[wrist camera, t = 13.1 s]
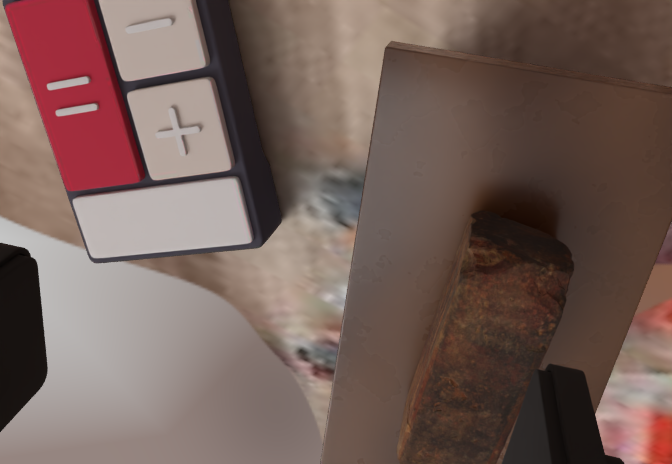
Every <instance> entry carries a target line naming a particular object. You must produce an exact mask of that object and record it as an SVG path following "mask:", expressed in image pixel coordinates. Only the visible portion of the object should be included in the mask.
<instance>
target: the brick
mask: <svg viewBox="0 0 672 464" xmlns="http://www.w3.org/2000/svg"><path fill="white" fill-rule="evenodd" d="M573 272H574V262H573V261H572V253H571V252H570V250H569V248H568V247H567V246H566V245H565V244H564V243H562V242H561V241H559V240H557V239H555V238H553V237H552V236H550V235H549V234H547V233H544V232H542V231H539V230H537V229H534V228H532V227H529V226H526V225H523V224H520V223H518V222H516V221H513V220H509V219H507V218H501V217H500V216H499V215H498V214H496V213H493V212H489V211H484V210H483V211H478V212H475V213H473V214H471V216H470V218H469V220H468V223H467V225H466V228H465V231H464V234H463V236H462V239H461V241H460V244H459V248H458V250H457V253H456V255H455V258H454V261H453V264H452V267H451V270H450V273H449V276H448V279H447V281H446V284H445V287H444V290H443V292H442V295H441V298H440V301H439V304H438V307H437V310H436V313H435V316H434V319H433V322H432V325H431V328H430V331H429V334H428V337H427V340H426V342H425V345H424V348H423V351H422V354H421V357H420V360H419V363H418V366H417V369H416V373H415V375H414V377H413V381H412V384H411V386H410V389H409V392H408V396H407V399H406V402H405V407H404V412H403V418H402V423H401V430H400V436H399V441H398V445H397V451H396V453H397V454H398V456H397V459H398V460H399V463H400V464H496V463H497V461H498V459H499V456H500V454H501V452H502V450H503V448H504V446H505V444H506V441H507V439H508V436H509V434H510V432H511V430H512V428H513V425H514V423H515V421H516V419H517V417H518V414H519V412H520V409H521V406H522V403H523V400H524V398H525V395H526V392H527V389H528V386H529V383H530V380H531V377H532V375H533V372H534V371H535V369H539V368H540V366H541V363H542V361H543V358H544V356H545V354H546V352H547V350H548V348H549V345H550V343H551V341H552V338H553V336H554V334H555V332H556V329H557V327H558V325H559V323H560V321H561V318H562V314H563V310H564V306H565V303H566V293H567V292H568V286H569V282H570V278H571V277H572V275H573Z"/></svg>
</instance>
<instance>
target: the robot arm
mask: <svg viewBox="0 0 672 464" xmlns="http://www.w3.org/2000/svg"><path fill="white" fill-rule="evenodd" d="M46 376H47V357H46V347H45V337H44V327H43V316H42V306H41V296H40V287H39V275H38V266H37V262H36V260H35V259H34V258H32V257H31V256H30V253H29V251H28V250H27V249H25V248H22V247H17V246H13V245H8V244H3V243H0V432H1V431H2V429H4V427H5V426H6V425H7V424H8V423H9V422H10V421H11V420H12V419H13V418H14V416H15V415H16V414H17V413H18V412H19V411H20V410H21V409H22V408H23V407H24V406H25V405H26V403H27V402H28V401H29V400H30V399H31V398H32V397H33V396H34V395H35V394H36V393H37V392H38V390H39V389H40V388H41V387H42V385H43V383H44V382H45V379H46ZM502 464H624V462H623V461H622V460H621V459H620V458H616V457H612V456H608V455H605V453H604V449H603V445H602V441H601V437H600V433H599V429H598V425H597V421H596V417H595V413H594V409H593V405H592V401H591V397H590V393H589V389H588V385H587V381H586V377H585V374H584V372H583V371H582V370H578V369H574V368H569V367H564V366H560V365H555V364H551V363H550V364H548V365H547V367H546V369H545V371H544V370H539V369H535V371H534V372H533V375H532V377H531V380H530V383H529V386H528V389H527V392H526V395H525V398H524V400H523V403H522V406H521V409H520V412H519V415H518V418H517V421H516V424H515V426H514V429H513V432H512V435H511V438H510V441H509V444H508V447H507V450H506V453H505V455H504V458H503V461H502Z"/></svg>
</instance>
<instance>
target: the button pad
mask: <svg viewBox="0 0 672 464" xmlns="http://www.w3.org/2000/svg"><path fill="white" fill-rule="evenodd" d="M3 6H4V9H5V12H6V15H7V18H8V21H9V24H10V27H11V30H12V33H13V36H14V39H15V42H16V45H17V48H18V51H19V54H20V57H21V60H22V62H23V65H24V68H25V71H26V74H27V77H28V80H29V83H30V86H31V89H32V92H33V95H34V98H35V101H36V104H37V107H38V110H39V112H40V115H41V118H42V121H43V124H44V127H45V130H46V133H47V136H48V139H49V142H50V145H51V148H52V151H53V154H54V157H55V160H56V162H57V165H58V168H59V171H60V174H61V177H62V180H63V183H64V186H65V189H66V192H67V195H68V198H69V201H70V204H71V207H72V210H73V212H74V215H75V218H76V221H77V224H78V227H79V230H80V233H81V236H82V239H83V242H84V245H85V248H86V251H87V253H88V256H89V258H90V260H91V261H92V262H94V263H107V262H118V261H129V260H139V259H150V258H160V257H170V256H181V255H191V254H202V253H212V252H223V251H233V250H244V249H254V248H259V247H261V246H262V245H263V244H264V243H265V242H266V241H267V240H268V238H269V237H270V236H271V235H272V234H273V232H274V231H275V230H276V229H277V227H278V226H279V225H280V223H281V221H282V219H281V214H280V209H279V205H278V200H277V196H276V191H275V187H274V183H273V178H272V174H271V169H270V165H269V163H268V161H267V159H266V157H265V155H264V153H263V151H262V147H261V143H260V138H259V134H258V130H257V125H256V121H255V117H254V112H253V108H252V103H251V99H250V95H249V90H248V86H247V82H246V77H245V73H244V68H243V64H242V60H241V55H240V51H239V47H238V42H237V38H236V33H235V29H234V25H233V20H232V16H231V12H230V7H229V3H228V0H3Z"/></svg>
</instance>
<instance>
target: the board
mask: <svg viewBox="0 0 672 464" xmlns="http://www.w3.org/2000/svg"><path fill="white" fill-rule="evenodd" d="M483 210H484V211H489V212H493V213H496V214H498V215H499V216H500V217H501V218H507V219H509V220H513V221H516V222H518V223H520V224H523V225H526V226H529V227H532V228H534V229H537V230H539V231H542V232H544V233H547V234H549V235H550V236H552V237H553V238H555V239H557V240H559V241H561V242H562V243H564V244H565V245H566V246H567V247H568V248H569V250H570V252H571V253H572V261H573V262H574V272H573V275H572V277H571V278H570V282H569V286H568V292H567V293H566V303H565V306H564V310H563V314H562V318H561V321H560V323H559V325H558V327H557V329H556V332H555V334H554V336H553V338H552V341H551V343H550V345H549V348H548V350H547V352H546V354H545V356H544V358H543V361H542V363H541V366H540V368H539V370H544V371H545V369H546V367H547V365H548V364H550V363H551V364H555V365H560V366H564V367H569V368H574V369H578V370H582V371H583V372H584V374H585V377H586V381H587V385H588V389H589V393H590V397H591V401H592V405H593V409H594V413H596V410H597V408H598V405H599V403H600V400H601V398H602V395H603V392H604V390H605V387H606V385H607V382H608V380H609V377H610V375H611V372H612V370H613V367H614V365H615V362H616V360H617V357H618V355H619V352H620V350H621V347H622V345H623V342H624V340H625V337H626V334H627V332H628V329H629V327H630V324H631V322H632V319H633V317H634V314H635V312H636V309H637V306H638V304H639V302H640V299H641V297H642V294H643V291H644V289H645V286H646V284H647V281H648V279H649V276H650V274H651V271H652V269H653V266H654V264H655V261H656V259H657V256H658V254H659V251H660V249H661V246H662V244H663V241H664V239H665V236H666V234H667V231H668V229H669V226H670V224H671V221H672V87H666V86H660V85H654V84H648V83H642V82H636V81H630V80H624V79H618V78H612V77H606V76H600V75H594V74H588V73H582V72H575V71H569V70H563V69H557V68H551V67H545V66H539V65H533V64H527V63H521V62H515V61H509V60H503V59H497V58H491V57H485V56H479V55H473V54H467V53H461V52H455V51H448V50H442V49H436V48H430V47H424V46H418V45H412V44H406V43H400V42H394V41H391V42H390V43H389V44H388V45H387V46H386V48H385V52H384V59H383V65H382V72H381V78H380V84H379V91H378V97H377V104H376V110H375V116H374V123H373V129H372V136H371V142H370V148H369V155H368V161H367V167H366V174H365V180H364V187H363V193H362V199H361V206H360V212H359V219H358V225H357V231H356V238H355V244H354V251H353V257H352V263H351V270H350V276H349V283H348V289H347V295H346V302H345V308H344V315H343V321H342V327H341V334H340V340H339V347H338V353H337V359H336V366H335V372H334V378H333V385H332V391H331V398H330V404H329V410H328V417H327V423H326V430H325V436H324V442H323V449H322V455H321V462H320V464H400V463H399V460H398V459H397V456H398V454H397V453H396V451H397V445H398V441H399V436H400V430H401V423H402V418H403V412H404V407H405V402H406V399H407V396H408V392H409V389H410V386H411V384H412V381H413V377H414V375H415V373H416V369H417V366H418V363H419V360H420V357H421V354H422V351H423V348H424V345H425V342H426V340H427V337H428V334H429V331H430V328H431V325H432V322H433V319H434V316H435V313H436V310H437V307H438V304H439V301H440V298H441V295H442V292H443V290H444V287H445V284H446V281H447V279H448V276H449V273H450V270H451V267H452V264H453V261H454V258H455V255H456V253H457V250H458V248H459V244H460V241H461V239H462V236H463V234H464V231H465V228H466V225H467V223H468V220H469V218H470V216H471V214H473V213H475V212H478V211H483ZM518 415H519V414H518ZM517 418H518V417H517ZM516 421H517V419H516ZM516 421H515V423H514V425H513V428H512V430H511V432H510V434H509V436H508V439H507V441H506V444H505V446H504V448H503V450H502V452H501V454H500V456H499V459H498V461H497V463H496V464H502V461H503V458H504V455H505V453H506V450H507V447H508V444H509V441H510V438H511V435H512V432H513V429H514V426H515V424H516Z"/></svg>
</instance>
